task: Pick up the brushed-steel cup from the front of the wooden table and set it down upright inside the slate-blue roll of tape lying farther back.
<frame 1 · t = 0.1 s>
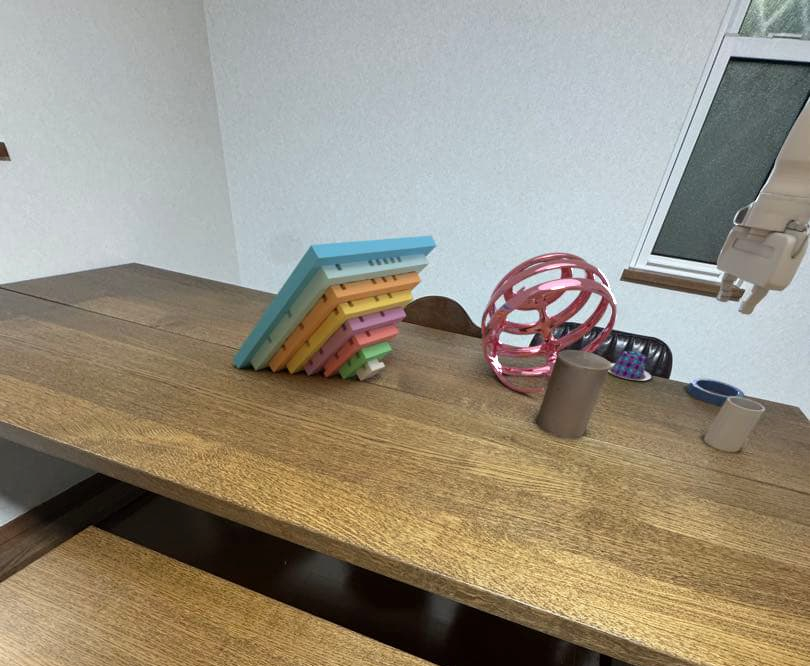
hand: (732, 307, 85), 23 cm above the table, tool pointing down, fingers open, 8 cm apart
rainbow stepped pyramid: (333, 366, 104), on the table
spiral basket: (527, 383, 108), on the table
cup: (720, 445, 91), on the table
pudding: (626, 375, 120), on the table
pillar candle: (559, 429, 90), on the table
tape ring: (711, 397, 113), on the table
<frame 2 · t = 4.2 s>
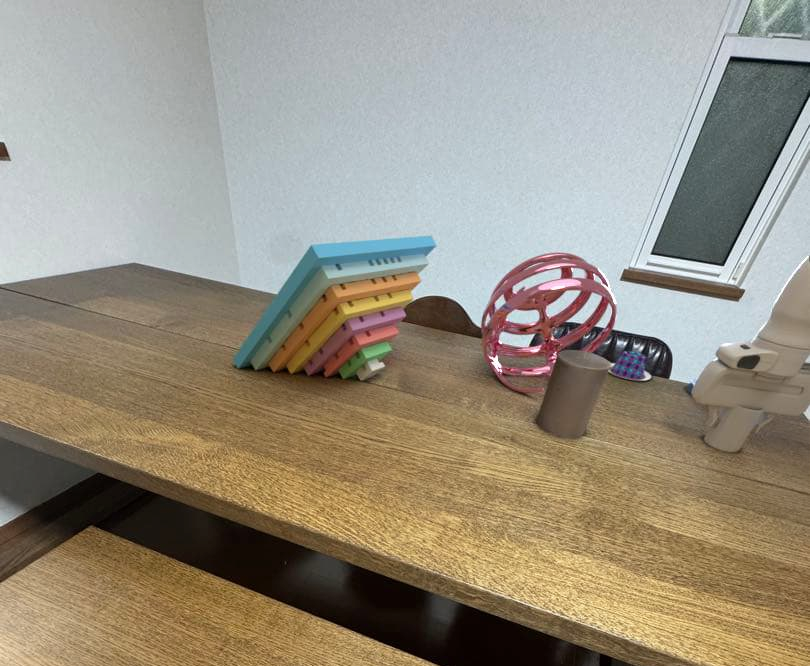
hand: (730, 429, 89), 4 cm above the table, tool pointing down, fingers closed on cup, 6 cm apart
cup: (720, 445, 91), on the table, touching gripper
everything else where it was.
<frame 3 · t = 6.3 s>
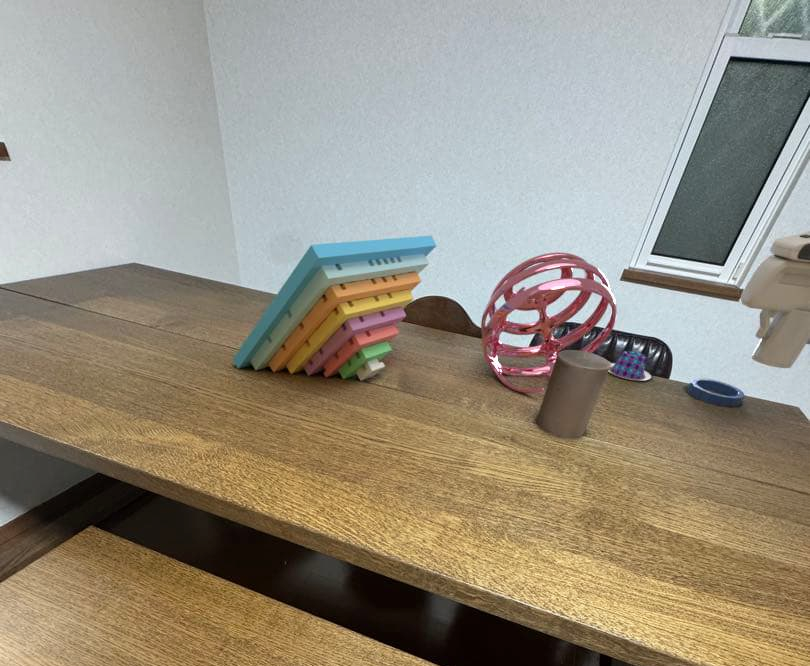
hand: (783, 340, 80), 20 cm above the table, tool pointing down, fingers closed on cup, 6 cm apart
cup: (770, 361, 82), point 16 cm above the table, touching gripper
everything else where it was.
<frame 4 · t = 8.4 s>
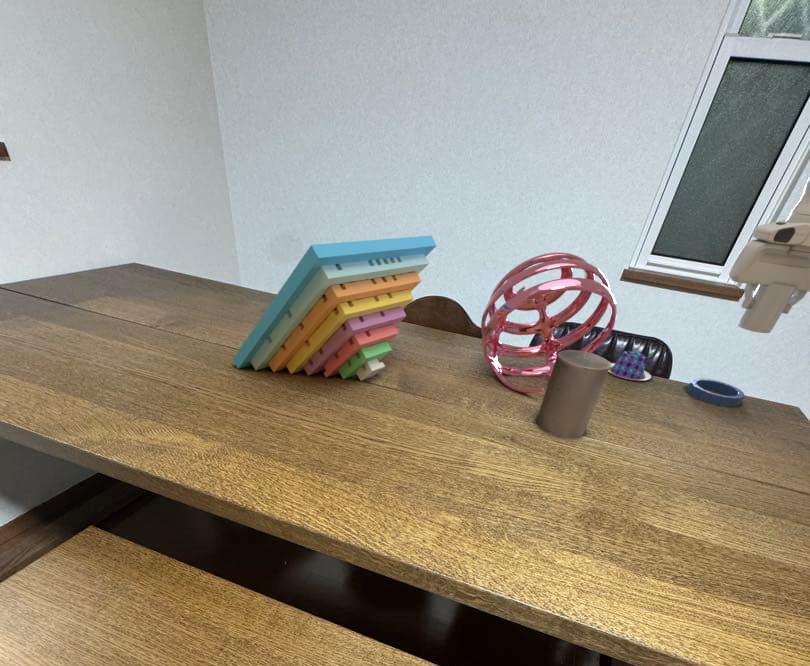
hand: (763, 310, 98), 20 cm above the table, tool pointing down, fingers closed on cup, 6 cm apart
cup: (753, 328, 100), point 17 cm above the table, touching gripper
everything else where it was.
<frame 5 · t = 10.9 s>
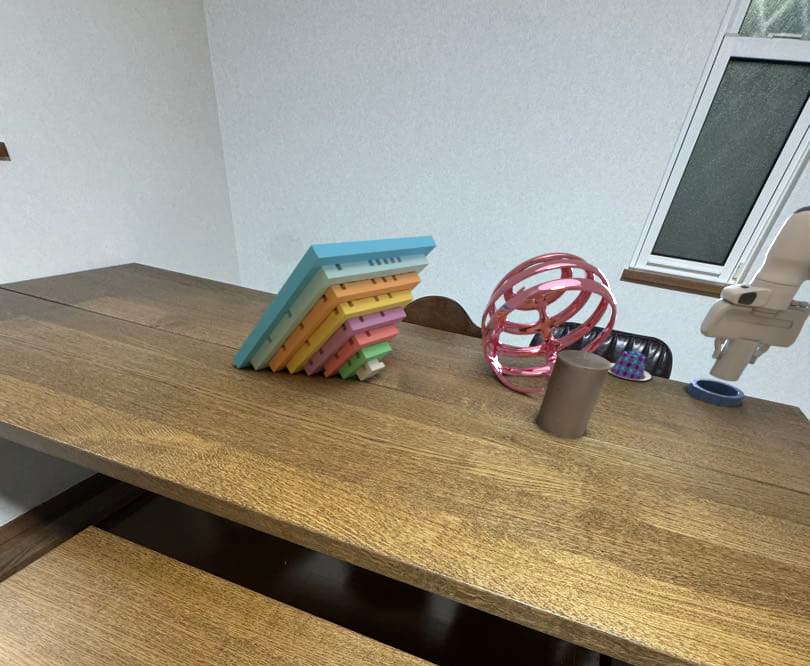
hand: (731, 360, 107), 9 cm above the table, tool pointing down, fingers closed on cup, 6 cm apart
cup: (723, 376, 109), point 5 cm above the table, touching gripper
everything else where it was.
when the fingers open (3 cm above the table, at t = 12.8 s): cup stays where it is, resting in tape ring.
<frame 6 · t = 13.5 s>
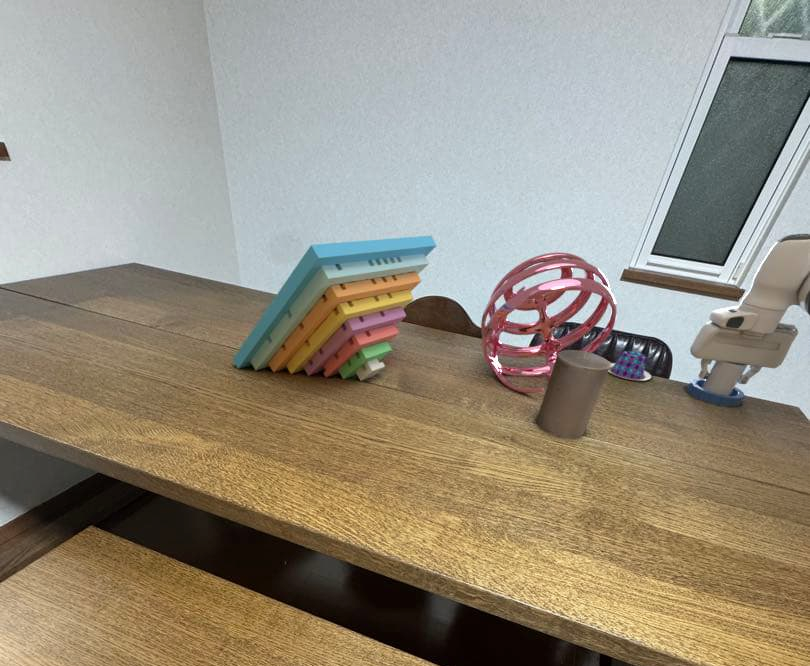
hand: (721, 380, 110), 4 cm above the table, tool pointing down, fingers open, 8 cm apart
cup: (711, 397, 113), resting in tape ring
everything else where it was.
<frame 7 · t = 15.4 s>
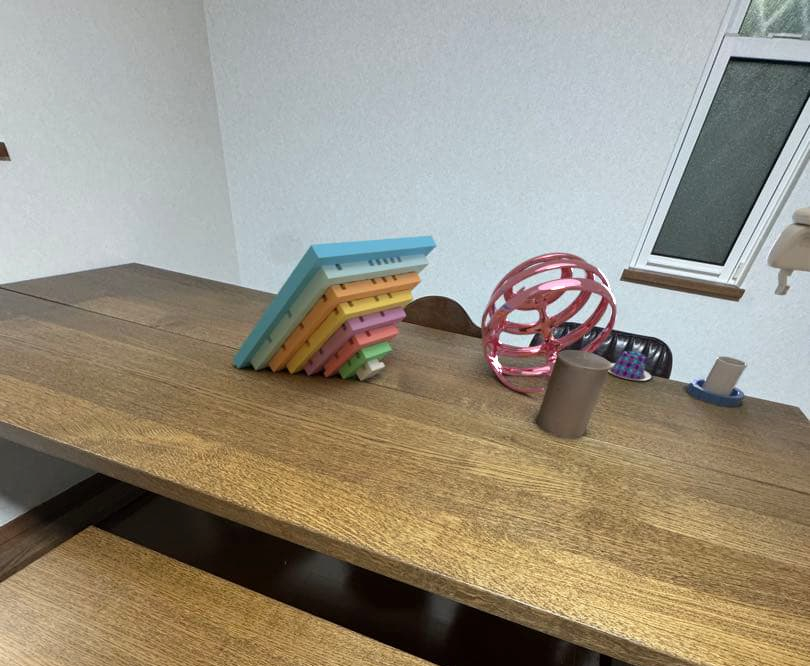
hand: (802, 297, 95), 24 cm above the table, tool pointing down, fingers open, 8 cm apart
nothing on the table moved.
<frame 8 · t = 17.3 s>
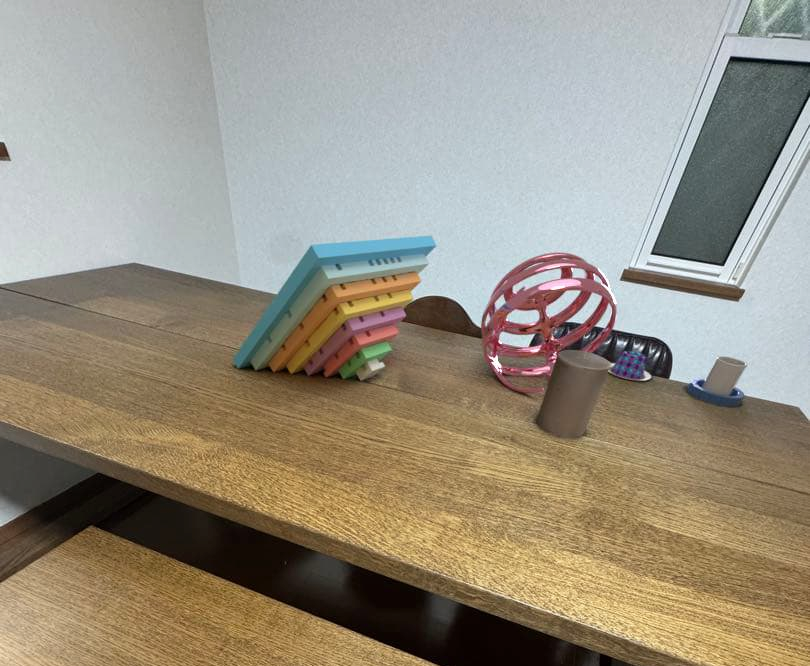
nothing on the table moved.
at the end: cup 0.0 cm off-centre on the tape ring, point 0.0 cm above the tape ring's base; cup tilted 0° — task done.
